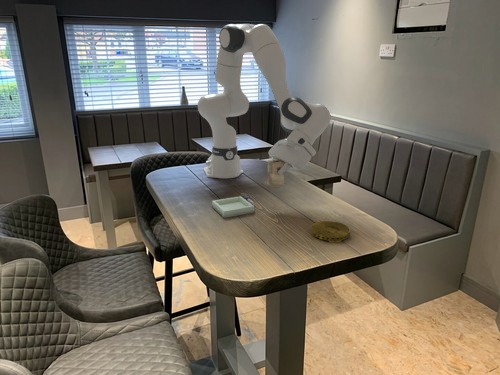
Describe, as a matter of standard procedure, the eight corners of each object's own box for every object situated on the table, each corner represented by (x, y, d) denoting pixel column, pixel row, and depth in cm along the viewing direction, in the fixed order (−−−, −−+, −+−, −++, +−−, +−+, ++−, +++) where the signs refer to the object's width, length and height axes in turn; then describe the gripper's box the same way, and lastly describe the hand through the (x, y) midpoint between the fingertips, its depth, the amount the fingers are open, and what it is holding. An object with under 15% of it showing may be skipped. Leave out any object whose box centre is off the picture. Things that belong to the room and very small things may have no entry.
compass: (336, 247, 113) (336, 240, 113) (303, 235, 121) (304, 229, 120) (356, 234, 122) (356, 228, 121) (324, 224, 129) (324, 218, 129)
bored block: (267, 183, 140) (267, 160, 137) (277, 182, 142) (278, 158, 139) (273, 187, 136) (273, 163, 134) (284, 185, 138) (284, 161, 135)
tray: (212, 206, 144) (212, 200, 143) (240, 202, 149) (240, 196, 148) (224, 218, 133) (223, 211, 133) (254, 212, 138) (254, 206, 138)
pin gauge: (240, 197, 154) (240, 193, 153) (244, 197, 154) (244, 193, 154) (252, 206, 144) (252, 202, 144) (256, 206, 145) (256, 201, 144)
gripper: (279, 132, 145) (256, 159, 145) (309, 142, 128) (283, 173, 127) (288, 142, 149) (266, 169, 148) (319, 154, 131) (294, 184, 131)
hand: (274, 171), depth 137 cm, fingers closed on bored block, 5 cm apart
